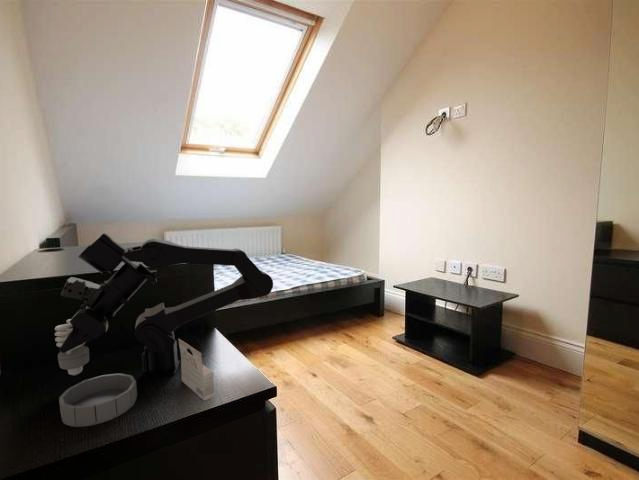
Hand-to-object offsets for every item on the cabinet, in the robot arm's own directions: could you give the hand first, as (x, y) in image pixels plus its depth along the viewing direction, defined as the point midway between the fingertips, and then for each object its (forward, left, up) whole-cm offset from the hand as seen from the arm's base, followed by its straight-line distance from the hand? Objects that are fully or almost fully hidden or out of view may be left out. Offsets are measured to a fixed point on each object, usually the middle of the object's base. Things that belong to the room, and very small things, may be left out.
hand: (64, 346), depth 73 cm
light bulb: (-1, 0, -7) cm, 7 cm away
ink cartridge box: (-26, +6, -10) cm, 29 cm away
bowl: (-9, +9, -9) cm, 16 cm away
